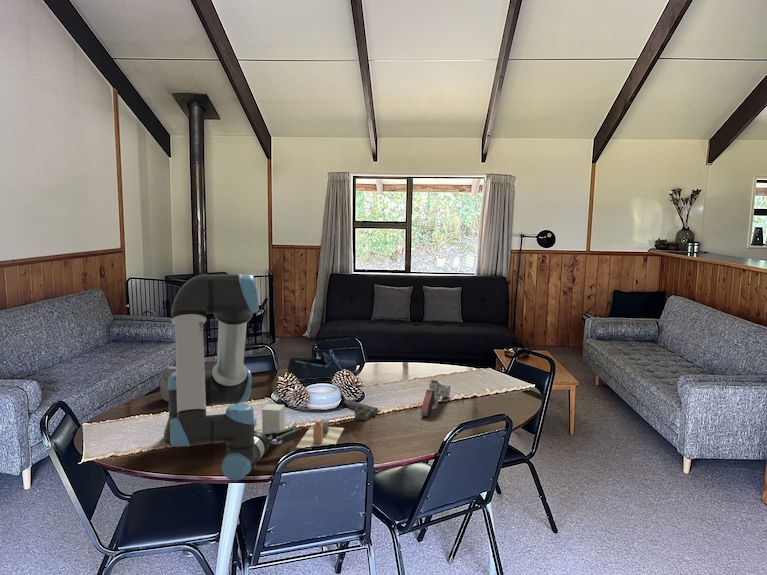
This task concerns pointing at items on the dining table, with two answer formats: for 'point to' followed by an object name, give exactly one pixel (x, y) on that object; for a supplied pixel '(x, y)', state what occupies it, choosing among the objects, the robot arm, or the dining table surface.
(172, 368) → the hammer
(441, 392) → the revolver
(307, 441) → the board
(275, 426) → the tall cream block
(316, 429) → the post
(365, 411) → the handgun
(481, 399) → the dining table surface
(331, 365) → the moccasin
